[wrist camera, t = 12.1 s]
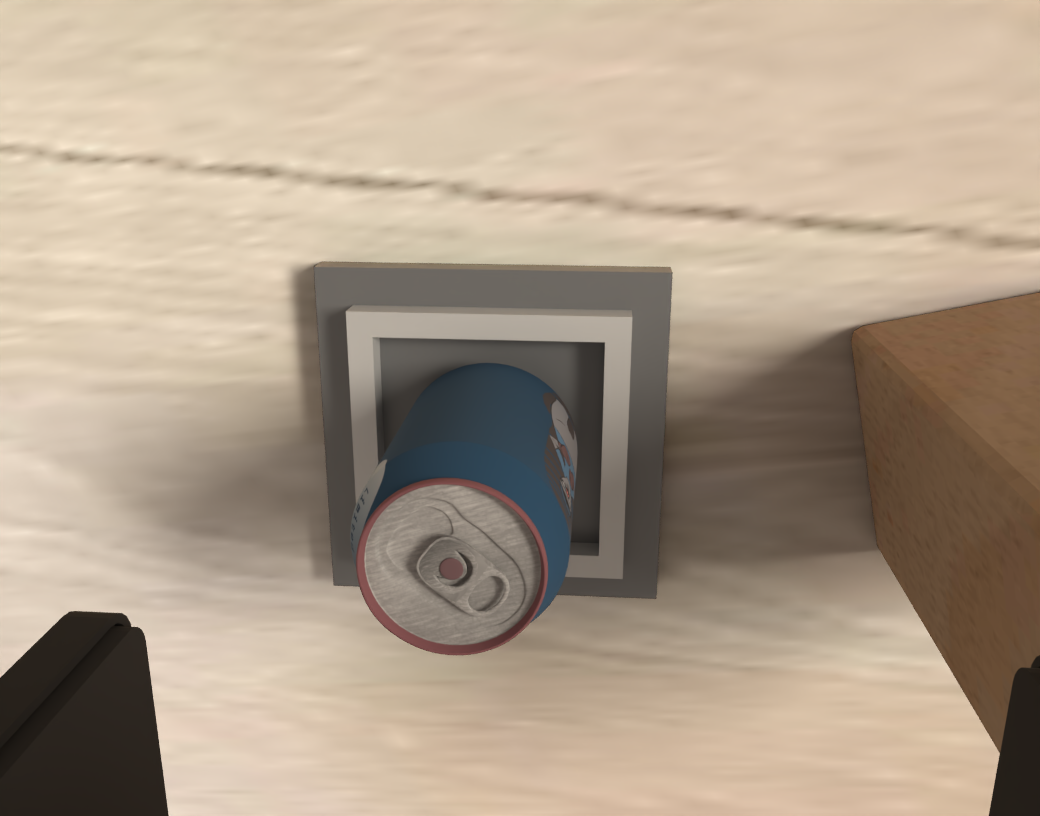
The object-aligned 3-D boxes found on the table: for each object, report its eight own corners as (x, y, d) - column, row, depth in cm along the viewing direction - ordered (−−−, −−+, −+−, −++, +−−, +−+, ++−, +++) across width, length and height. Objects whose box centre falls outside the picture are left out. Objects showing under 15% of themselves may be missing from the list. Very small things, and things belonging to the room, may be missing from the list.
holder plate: (322, 261, 40) (305, 272, 38) (670, 267, 39) (674, 278, 37) (340, 572, 45) (326, 598, 42) (654, 585, 43) (657, 612, 41)
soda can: (377, 445, 41) (290, 582, 30) (478, 319, 39) (426, 414, 28) (508, 544, 42) (472, 714, 31) (614, 425, 40) (617, 560, 29)
